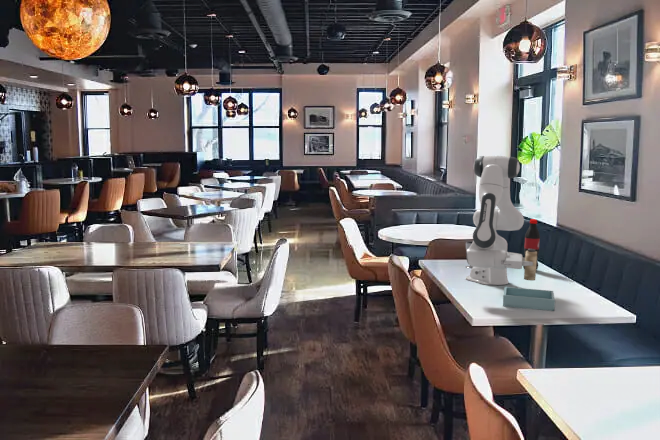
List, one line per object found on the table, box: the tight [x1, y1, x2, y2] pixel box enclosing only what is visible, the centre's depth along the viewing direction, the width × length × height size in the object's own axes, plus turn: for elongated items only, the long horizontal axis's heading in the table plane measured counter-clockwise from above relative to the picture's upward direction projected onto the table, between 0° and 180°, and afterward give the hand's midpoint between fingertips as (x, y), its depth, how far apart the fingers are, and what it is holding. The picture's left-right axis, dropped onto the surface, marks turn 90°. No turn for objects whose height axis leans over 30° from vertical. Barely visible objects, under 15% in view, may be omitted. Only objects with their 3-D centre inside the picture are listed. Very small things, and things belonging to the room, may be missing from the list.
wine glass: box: [465, 240, 473, 269], centre depth 373 cm, size 8×8×15 cm
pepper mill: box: [523, 249, 538, 281], centre depth 290 cm, size 5×5×14 cm
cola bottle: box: [522, 218, 541, 271], centre depth 367 cm, size 8×8×30 cm
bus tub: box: [502, 286, 556, 312], centre depth 292 cm, size 22×18×5 cm
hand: (532, 262), depth 290 cm, fingers closed on pepper mill, 5 cm apart
